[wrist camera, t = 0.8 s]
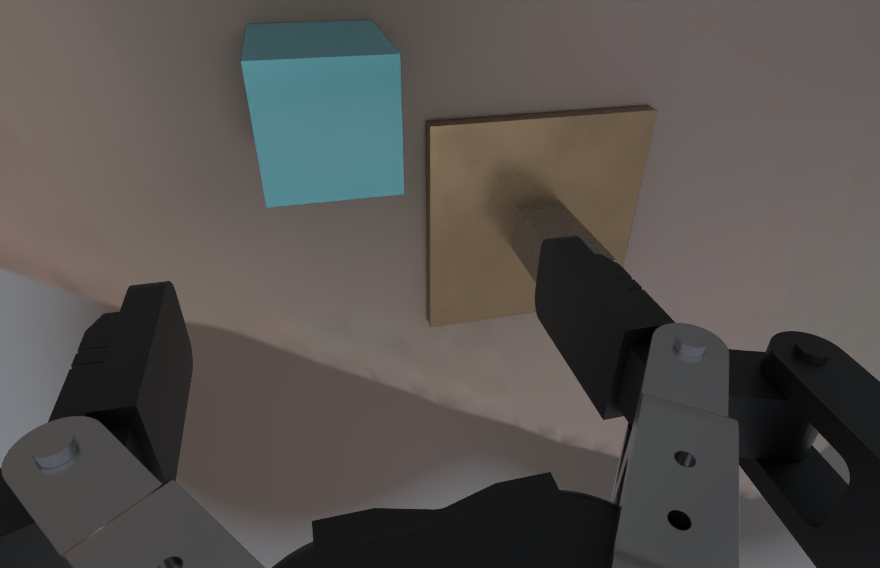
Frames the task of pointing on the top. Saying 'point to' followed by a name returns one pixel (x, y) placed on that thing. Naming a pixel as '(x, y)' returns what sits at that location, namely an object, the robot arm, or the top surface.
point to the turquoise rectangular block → (324, 110)
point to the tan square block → (525, 201)
